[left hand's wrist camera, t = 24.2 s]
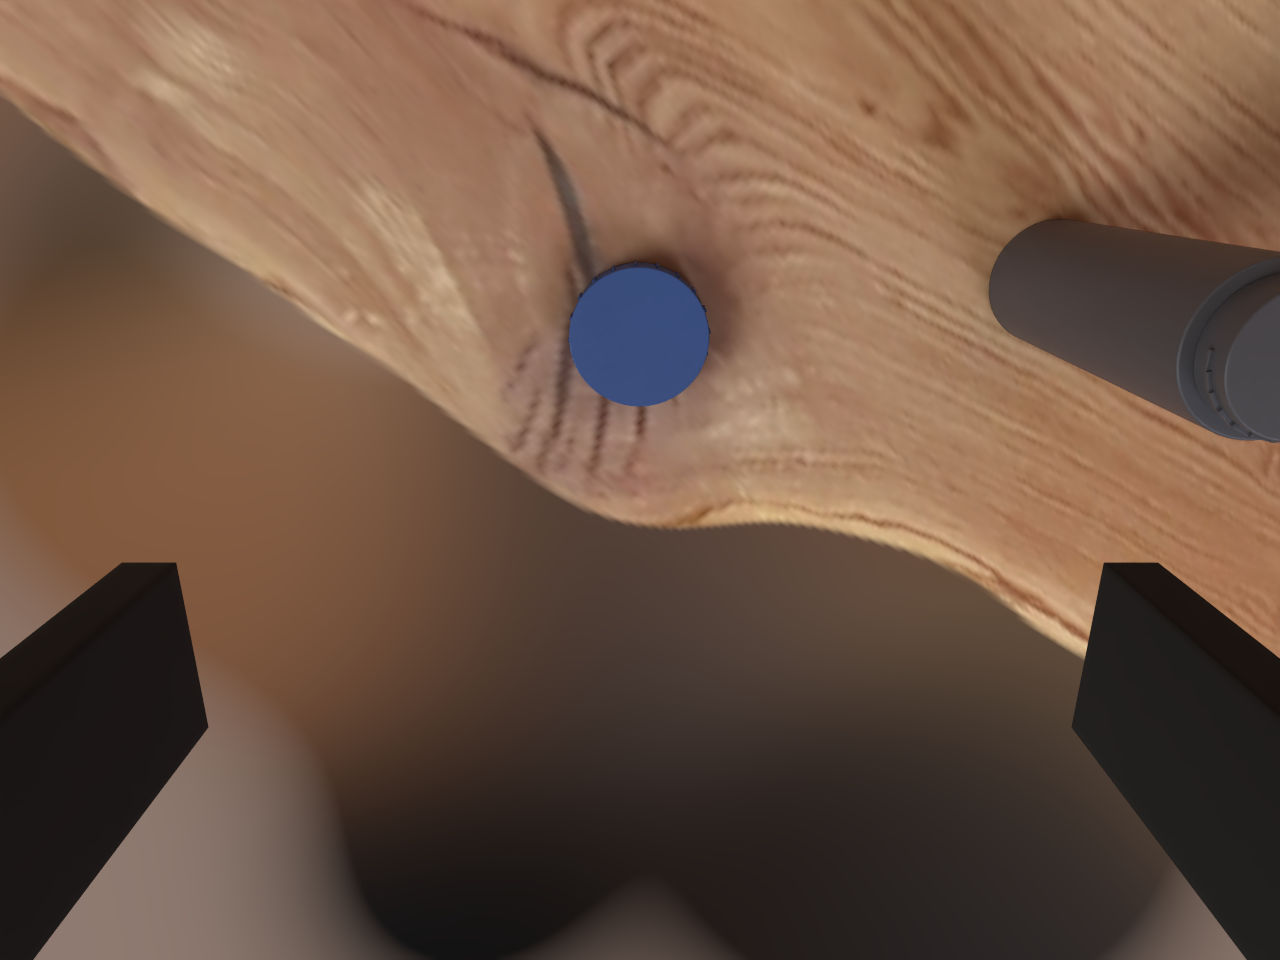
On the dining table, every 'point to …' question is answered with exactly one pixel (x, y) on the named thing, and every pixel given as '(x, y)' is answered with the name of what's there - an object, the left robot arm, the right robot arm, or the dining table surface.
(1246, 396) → the jar
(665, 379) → the lid
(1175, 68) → the dining table surface
